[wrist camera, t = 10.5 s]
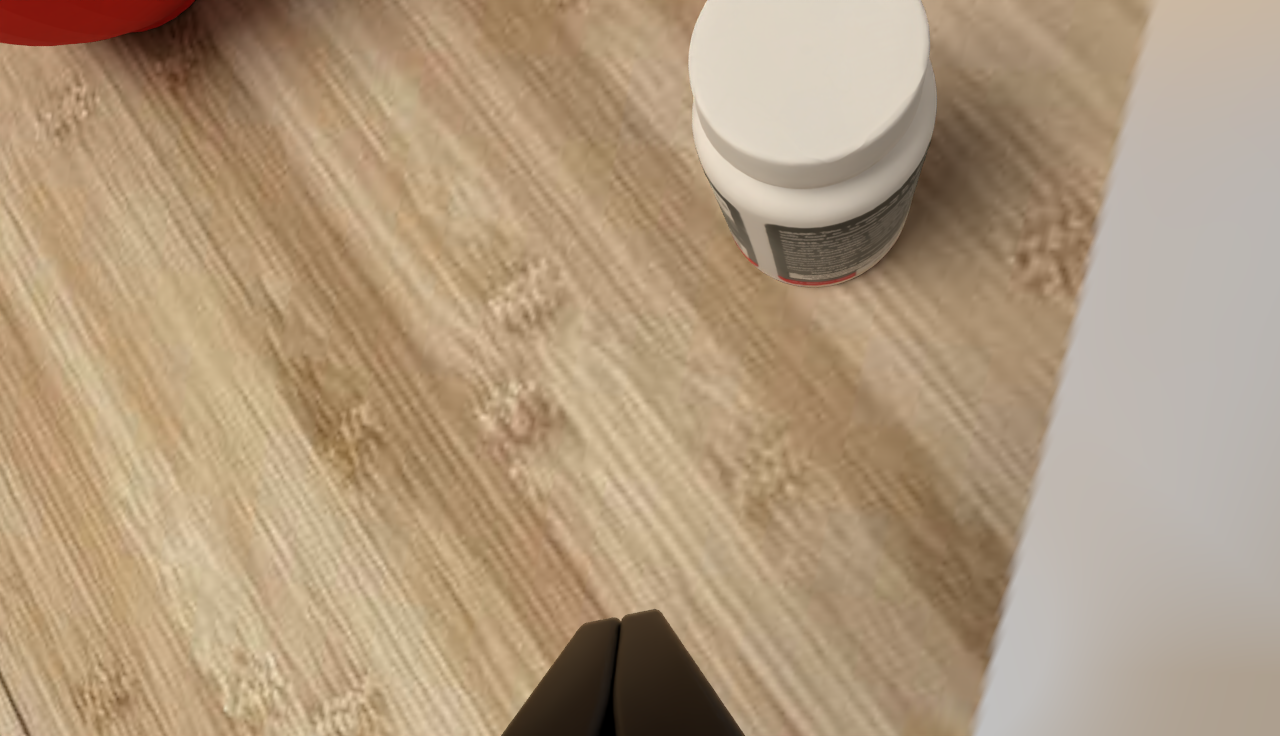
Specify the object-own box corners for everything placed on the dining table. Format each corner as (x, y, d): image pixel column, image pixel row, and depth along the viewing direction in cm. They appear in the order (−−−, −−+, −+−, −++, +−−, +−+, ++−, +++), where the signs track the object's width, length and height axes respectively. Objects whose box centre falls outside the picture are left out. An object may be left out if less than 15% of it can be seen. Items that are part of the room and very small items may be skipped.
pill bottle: (941, 162, 21) (1017, -29, 13) (851, 321, 21) (869, 232, 13) (780, 91, 22) (754, -125, 14) (695, 241, 22) (620, 113, 14)
